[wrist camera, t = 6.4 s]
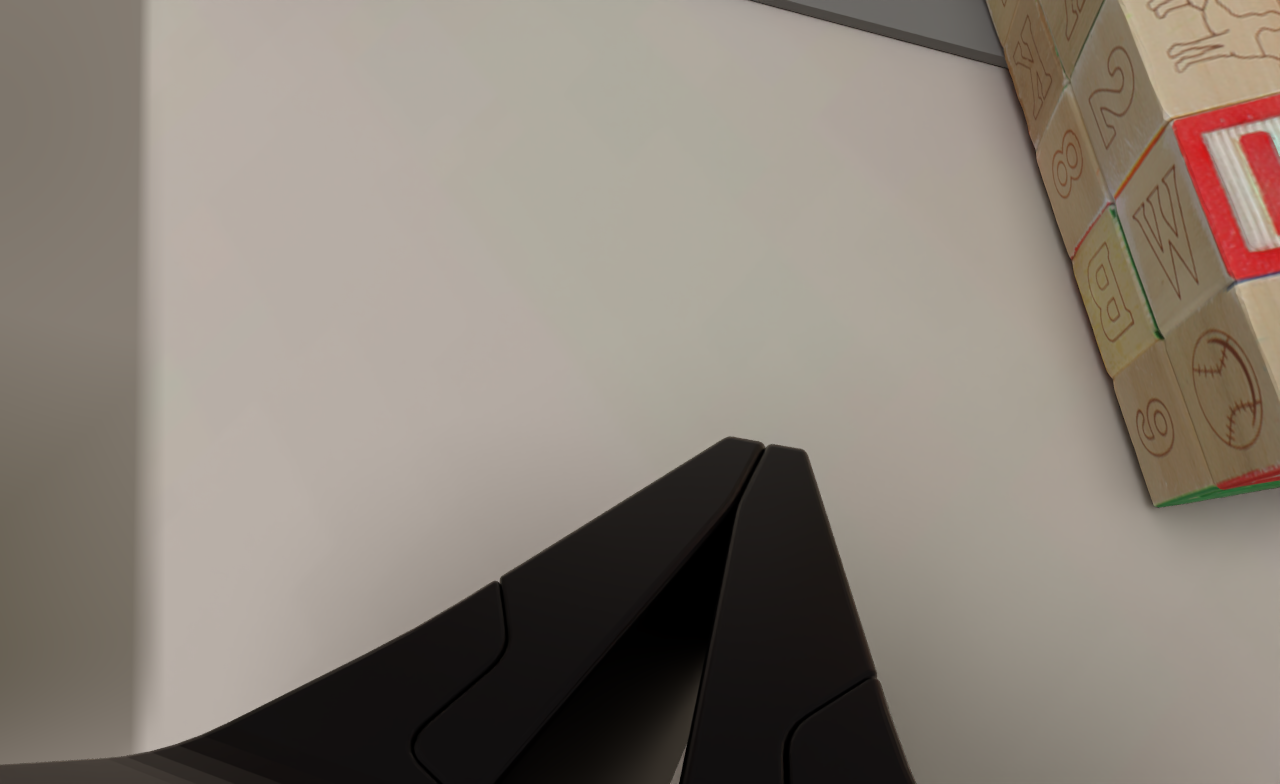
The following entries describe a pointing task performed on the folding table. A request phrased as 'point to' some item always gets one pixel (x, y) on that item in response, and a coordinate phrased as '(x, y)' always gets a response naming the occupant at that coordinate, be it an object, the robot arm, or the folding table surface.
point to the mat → (915, 22)
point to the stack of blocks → (1168, 216)
